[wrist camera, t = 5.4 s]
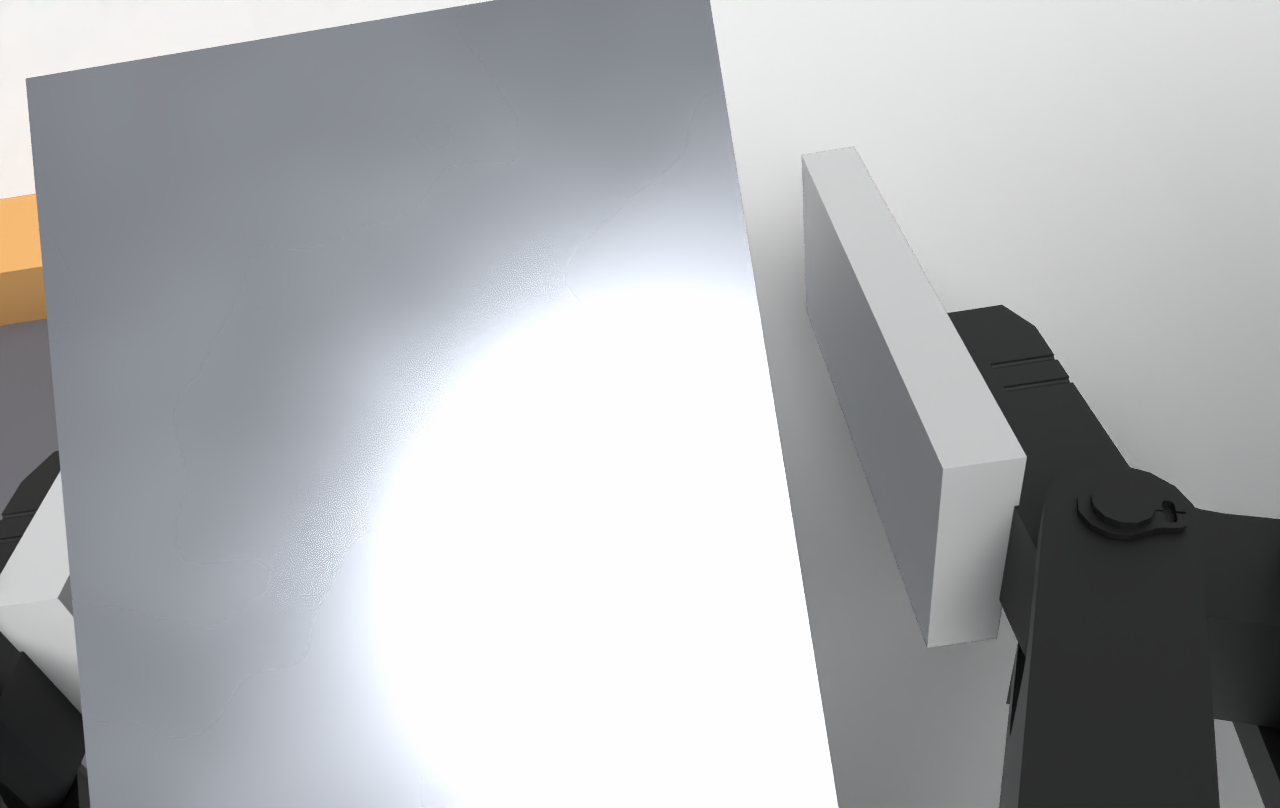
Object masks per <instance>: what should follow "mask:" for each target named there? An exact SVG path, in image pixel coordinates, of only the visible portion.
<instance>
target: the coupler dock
mask: <svg viewBox="0 0 1280 808" xmlns="http://www.w3.org/2000/svg"><path fill="white" fill-rule="evenodd" d="M54 451H59V448H58V436H57V425H56V414H55V402H54V391H53V380H52V369H51V357H50V346H49V335H48V324H47V312H46V301H45V290H44V279H43V267H42V256H41V245H40V234H39V222H38V211H37V200H36V194H30V195H24V196H18V197H12V198H5V199H0V520H2V515H1V514H2V512H3V511H4V509H5V507H6V506H7V504H8V503H9V501H10V499H11V498H12V496H13V495H14V493H15V491H16V490H17V488H18V486H19V485H20V483H21V482H22V481H23V480H24V479H25V478H26V477H27V476H28V475H29V474H30V473H32V472H33V471H34V470H35V469H36V468H37V467H38V466H39V465H40V464H41V463H42V462H43V461H44V460H46V459H47V458H48V457H49V456H50V455H51V454H52V453H53V452H54ZM81 763H82V764H83V765H84V767H85V768H86V769H87V763H86V752H85V755H84V757H83V760H82V762H81Z"/></svg>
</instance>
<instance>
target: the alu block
mask: <svg viewBox="0 0 1280 808" xmlns="http://www.w3.org/2000/svg"><path fill="white" fill-rule="evenodd" d="M26 87H27V99H28V110H29V121H30V132H31V144H32V155H33V166H34V177H35V189H36V200H37V211H38V222H39V234H40V245H41V256H42V267H43V279H44V290H45V301H46V312H47V324H48V335H49V346H50V357H51V369H52V380H53V391H54V402H55V414H56V425H57V436H58V448H59V459H60V470H61V481H62V493H63V504H64V515H65V526H66V538H67V549H68V560H69V571H70V583H71V594H72V605H73V616H74V628H75V639H76V650H77V661H78V673H79V684H80V695H81V706H82V718H83V729H84V740H85V751H86V763H87V774H88V785H89V797H90V808H838V802H837V796H836V790H835V784H834V777H833V771H832V765H831V758H830V752H829V746H828V740H827V733H826V727H825V721H824V715H823V708H822V702H821V696H820V689H819V683H818V677H817V671H816V664H815V658H814V652H813V645H812V639H811V633H810V627H809V620H808V614H807V608H806V602H805V595H804V589H803V583H802V576H801V570H800V564H799V558H798V551H797V545H796V539H795V532H794V526H793V520H792V514H791V507H790V501H789V495H788V489H787V482H786V476H785V470H784V463H783V457H782V451H781V445H780V438H779V432H778V426H777V420H776V413H775V407H774V401H773V394H772V388H771V382H770V376H769V369H768V363H767V357H766V350H765V344H764V338H763V332H762V325H761V319H760V313H759V307H758V300H757V294H756V288H755V281H754V275H753V269H752V263H751V256H750V250H749V244H748V238H747V231H746V225H745V219H744V212H743V206H742V200H741V194H740V187H739V181H738V175H737V168H736V162H735V156H734V150H733V143H732V137H731V131H730V125H729V118H728V112H727V106H726V99H725V93H724V87H723V81H722V74H721V68H720V62H719V56H718V49H717V43H716V37H715V30H714V24H713V18H712V12H711V5H710V0H494V1H488V2H482V3H476V4H470V5H464V6H458V7H452V8H446V9H440V10H434V11H428V12H422V13H416V14H410V15H404V16H398V17H392V18H386V19H380V20H374V21H368V22H362V23H356V24H350V25H344V26H338V27H332V28H326V29H320V30H314V31H308V32H302V33H296V34H290V35H284V36H278V37H272V38H266V39H260V40H254V41H248V42H242V43H236V44H230V45H224V46H218V47H212V48H206V49H200V50H194V51H188V52H182V53H176V54H170V55H164V56H158V57H152V58H146V59H140V60H134V61H128V62H122V63H116V64H110V65H104V66H98V67H92V68H86V69H80V70H74V71H68V72H62V73H57V74H51V75H45V76H39V77H33V78H27V79H26Z"/></svg>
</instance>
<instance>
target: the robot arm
mask: <svg viewBox="0 0 1280 808" xmlns="http://www.w3.org/2000/svg"><path fill="white" fill-rule="evenodd" d="M802 182H803V213H804V243H805V274H806V304H807V313H808V316H809V318H810V321H811V324H812V327H813V330H814V332H815V335H816V338H817V341H818V344H819V346H820V349H821V352H822V355H823V358H824V360H825V363H826V366H827V369H828V372H829V374H830V377H831V380H832V383H833V386H834V388H835V391H836V394H837V397H838V400H839V402H840V405H841V408H842V411H843V414H844V416H845V419H846V422H847V425H848V428H849V430H850V433H851V436H852V439H853V442H854V444H855V447H856V450H857V453H858V456H859V458H860V461H861V464H862V467H863V470H864V472H865V475H866V478H867V481H868V483H869V486H870V489H871V492H872V495H873V497H874V500H875V503H876V506H877V509H878V511H879V514H880V517H881V520H882V523H883V525H884V528H885V531H886V534H887V537H888V539H889V542H890V545H891V548H892V551H893V553H894V556H895V559H896V562H897V565H898V567H899V570H900V573H901V576H902V579H903V581H904V584H905V587H906V590H907V593H908V595H909V598H910V601H911V604H912V607H913V609H914V612H915V615H916V618H917V621H918V623H919V626H920V629H921V632H922V635H923V637H924V640H925V643H926V646H927V648H930V647H937V646H944V645H951V644H959V643H966V642H973V641H980V640H988V639H995V638H997V635H998V628H999V622H1000V616H1001V610H1002V607H1003V609H1004V612H1005V614H1006V616H1007V618H1008V621H1009V623H1010V625H1011V627H1012V629H1013V632H1014V634H1015V636H1016V638H1017V641H1018V644H1017V650H1016V655H1015V660H1014V666H1013V671H1012V676H1011V681H1010V687H1009V692H1008V697H1007V702H1006V704H1010V707H1009V717H1008V727H1007V736H1006V746H1005V756H1004V766H1003V776H1002V785H1001V795H1000V805H999V808H1220V806H1219V791H1218V776H1217V761H1216V747H1215V732H1214V719H1220V720H1227V721H1232V722H1233V724H1234V727H1235V729H1236V732H1237V735H1238V737H1239V740H1240V743H1241V745H1242V748H1243V750H1244V753H1245V756H1246V758H1247V761H1248V764H1249V766H1250V769H1251V772H1252V774H1253V777H1254V779H1255V782H1256V785H1257V787H1258V790H1259V793H1260V795H1261V798H1262V800H1263V803H1264V806H1265V808H1280V519H1273V518H1262V517H1252V516H1242V515H1232V514H1224V513H1218V512H1212V511H1206V510H1201V509H1198V508H1195V507H1194V506H1193V504H1192V503H1191V502H1190V501H1189V500H1188V499H1187V498H1186V497H1185V496H1184V495H1183V494H1182V493H1181V492H1180V491H1179V490H1178V489H1177V488H1176V487H1175V486H1173V485H1171V484H1170V483H1168V482H1166V481H1164V480H1162V479H1161V478H1159V477H1157V476H1155V475H1153V474H1151V473H1149V472H1145V471H1142V470H1138V469H1134V468H1130V467H1129V466H1128V464H1127V463H1126V461H1125V460H1124V458H1123V457H1122V455H1121V454H1120V452H1119V451H1118V449H1117V448H1116V446H1115V445H1114V443H1113V442H1112V440H1111V439H1110V437H1109V436H1108V434H1107V433H1106V431H1105V430H1104V428H1103V427H1102V425H1101V424H1100V422H1099V421H1098V419H1097V418H1096V416H1095V415H1094V413H1093V412H1092V410H1091V409H1090V407H1089V406H1088V405H1087V403H1086V402H1085V400H1084V399H1083V397H1082V396H1081V394H1080V393H1079V391H1078V390H1077V388H1076V387H1075V385H1074V384H1073V383H1070V382H1069V376H1068V375H1067V373H1066V372H1065V370H1064V369H1063V367H1062V366H1061V364H1060V363H1059V361H1058V360H1055V359H1054V354H1053V352H1052V351H1051V349H1050V348H1049V346H1048V345H1047V343H1046V342H1045V340H1044V339H1043V337H1042V336H1041V334H1040V333H1039V331H1038V330H1037V328H1036V327H1035V326H1034V325H1032V324H1031V323H1029V322H1028V321H1026V320H1025V319H1023V318H1021V317H1020V316H1018V315H1017V314H1015V313H1014V312H1012V311H1011V310H1009V309H1008V308H1006V307H1005V306H1003V305H998V306H991V307H985V308H978V309H972V310H965V311H958V312H952V313H947V312H946V311H945V309H944V307H943V305H942V303H941V302H940V300H939V298H938V296H937V294H936V293H935V291H934V289H933V287H932V285H931V284H930V282H929V280H928V278H927V276H926V275H925V273H924V271H923V269H922V267H921V266H920V264H919V262H918V260H917V259H916V257H915V255H914V253H913V251H912V250H911V248H910V246H909V244H908V242H907V241H906V239H905V237H904V235H903V233H902V232H901V230H900V228H899V226H898V224H897V223H896V221H895V219H894V217H893V215H892V214H891V212H890V210H889V208H888V206H887V205H886V203H885V201H884V199H883V197H882V196H881V194H880V192H879V190H878V188H877V187H876V185H875V183H874V181H873V179H872V178H871V176H870V174H869V172H868V170H867V169H866V167H865V165H864V163H863V161H862V160H861V158H860V156H859V154H858V152H857V151H856V149H855V147H848V148H842V149H835V150H829V151H823V152H816V153H810V154H804V155H802ZM1 515H2V520H0V808H90V797H89V785H88V774H87V769H86V768H85V767H84V765H83V764H82V763H81V762H82V760H83V757H84V755H85V752H86V751H85V740H84V729H83V718H82V706H81V695H80V684H79V673H78V661H77V650H76V639H75V628H74V616H73V605H72V594H71V583H70V571H69V560H68V549H67V538H66V526H65V515H64V504H63V493H62V481H61V470H60V459H59V451H54V452H53V453H52V454H51V455H50V456H49V457H48V458H47V459H46V460H44V461H43V462H42V463H41V464H40V465H39V466H38V467H37V468H36V469H35V470H34V471H33V472H32V473H30V474H29V475H28V476H27V477H26V478H25V479H24V480H23V481H22V482H21V483H20V485H19V486H18V488H17V490H16V491H15V493H14V495H13V496H12V498H11V499H10V501H9V503H8V504H7V506H6V507H5V509H4V511H3V512H2V514H1Z"/></svg>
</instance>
